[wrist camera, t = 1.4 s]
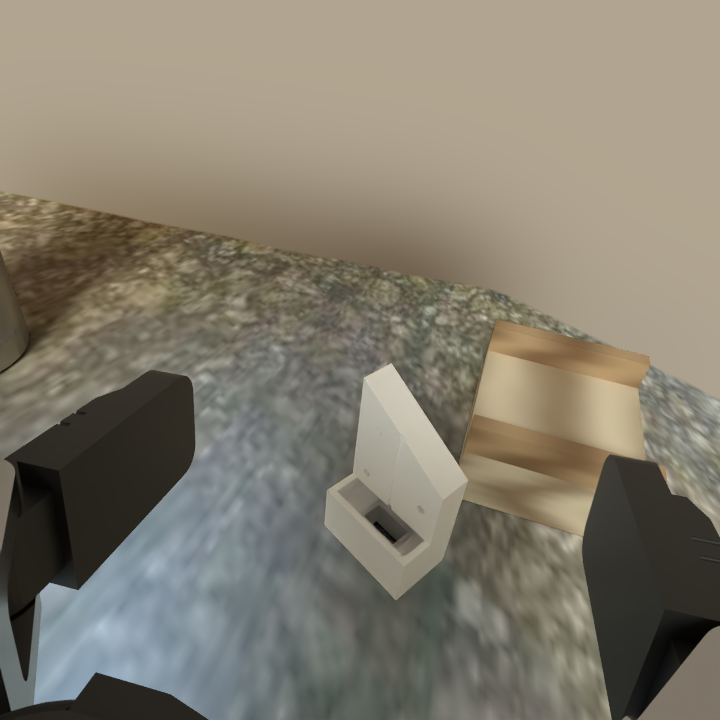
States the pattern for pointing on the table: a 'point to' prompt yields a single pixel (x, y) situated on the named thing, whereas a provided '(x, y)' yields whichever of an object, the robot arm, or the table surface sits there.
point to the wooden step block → (550, 424)
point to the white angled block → (396, 488)
